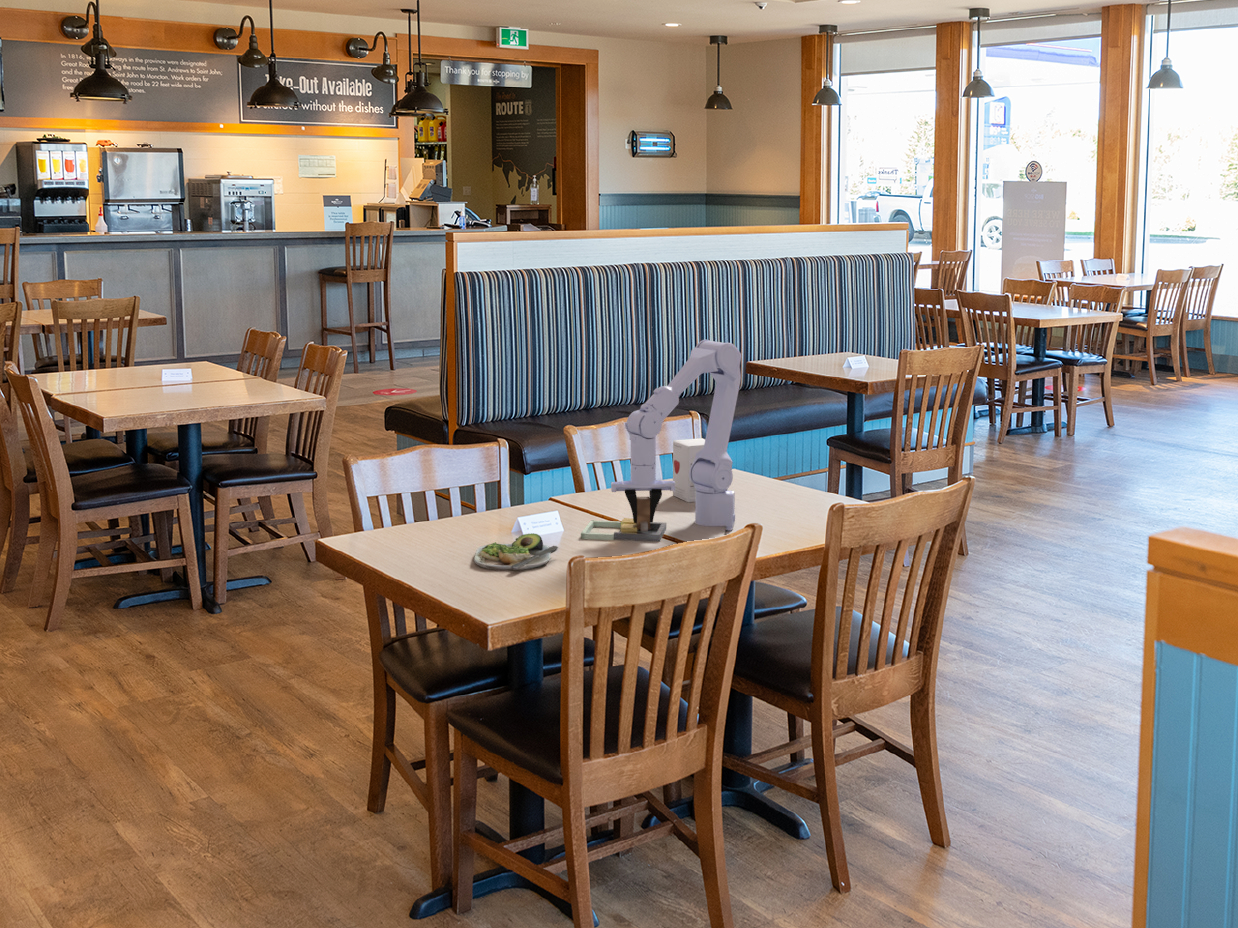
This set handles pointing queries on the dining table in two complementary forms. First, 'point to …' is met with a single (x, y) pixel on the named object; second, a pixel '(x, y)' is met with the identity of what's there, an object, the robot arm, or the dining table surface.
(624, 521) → the brushed gold cube
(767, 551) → the dining table surface
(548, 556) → the salad plate
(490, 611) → the dining table surface
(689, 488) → the supplement box
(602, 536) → the tray
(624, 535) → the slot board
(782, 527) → the dining table surface
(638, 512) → the brown block with peg
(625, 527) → the chip
